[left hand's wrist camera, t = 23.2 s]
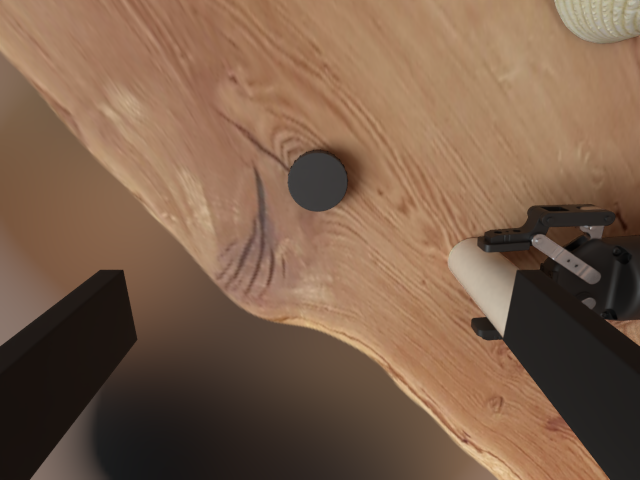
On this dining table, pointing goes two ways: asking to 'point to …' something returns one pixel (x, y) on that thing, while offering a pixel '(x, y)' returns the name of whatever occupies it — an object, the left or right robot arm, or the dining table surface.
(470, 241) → the bottle
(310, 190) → the lid
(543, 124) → the dining table surface
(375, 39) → the dining table surface
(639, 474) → the left robot arm
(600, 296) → the right robot arm
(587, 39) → the seashell
